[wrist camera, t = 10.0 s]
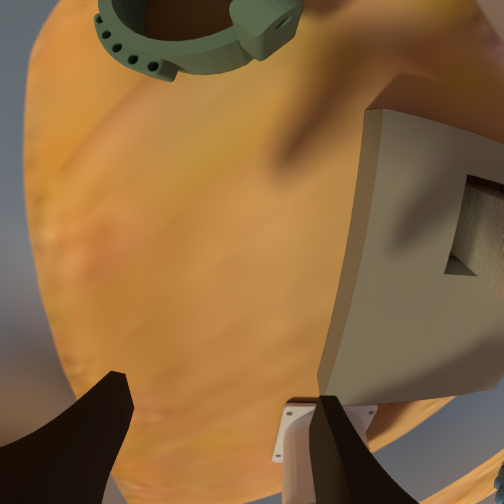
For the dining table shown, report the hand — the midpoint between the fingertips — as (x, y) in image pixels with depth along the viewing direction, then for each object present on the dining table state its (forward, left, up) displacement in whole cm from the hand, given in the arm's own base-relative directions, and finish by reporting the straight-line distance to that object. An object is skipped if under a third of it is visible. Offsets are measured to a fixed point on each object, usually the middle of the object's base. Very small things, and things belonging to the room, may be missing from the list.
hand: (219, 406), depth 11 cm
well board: (+2, -14, -9) cm, 17 cm away
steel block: (+6, -14, -9) cm, 18 cm away
